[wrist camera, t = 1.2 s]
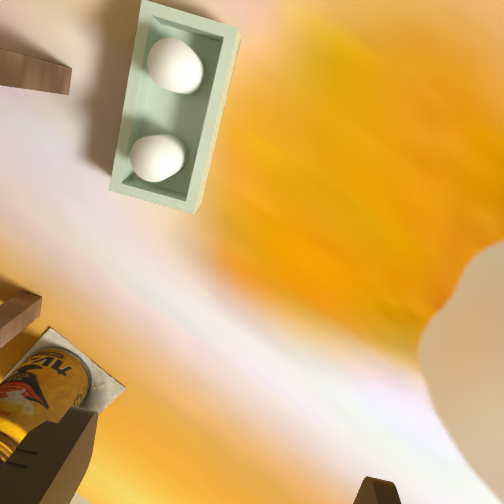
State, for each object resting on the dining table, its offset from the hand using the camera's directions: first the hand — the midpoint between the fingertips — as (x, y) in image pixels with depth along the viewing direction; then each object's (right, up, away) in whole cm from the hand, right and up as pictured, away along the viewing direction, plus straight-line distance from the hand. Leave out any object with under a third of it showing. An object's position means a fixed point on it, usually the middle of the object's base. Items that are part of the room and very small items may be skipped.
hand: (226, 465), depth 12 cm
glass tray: (-4, +16, +17) cm, 24 cm away
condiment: (-16, -5, +25) cm, 30 cm away
